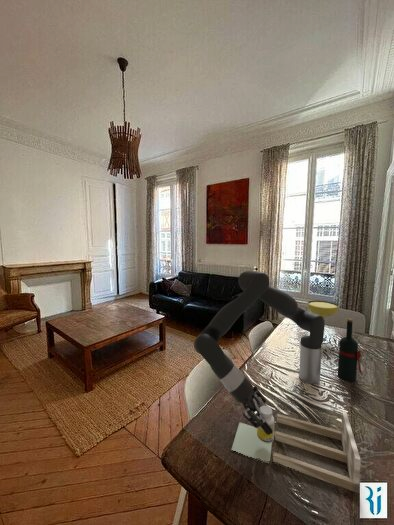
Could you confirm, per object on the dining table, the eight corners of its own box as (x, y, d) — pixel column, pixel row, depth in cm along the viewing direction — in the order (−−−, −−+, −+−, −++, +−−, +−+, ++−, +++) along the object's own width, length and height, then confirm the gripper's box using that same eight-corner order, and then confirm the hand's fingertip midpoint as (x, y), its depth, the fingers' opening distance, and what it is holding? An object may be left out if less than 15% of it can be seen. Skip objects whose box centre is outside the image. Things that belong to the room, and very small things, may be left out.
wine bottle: (358, 387, 104) (362, 324, 101) (334, 376, 112) (337, 318, 109) (364, 380, 108) (368, 320, 105) (341, 371, 116) (344, 315, 114)
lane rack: (277, 419, 86) (277, 395, 85) (344, 438, 77) (346, 412, 76) (273, 462, 69) (273, 432, 68) (358, 493, 61) (360, 459, 60)
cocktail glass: (307, 332, 165) (308, 299, 162) (336, 337, 156) (338, 302, 153) (305, 342, 149) (306, 305, 147) (337, 348, 140) (338, 309, 138)
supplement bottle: (260, 427, 78) (261, 401, 77) (276, 435, 75) (277, 408, 74) (254, 438, 74) (254, 410, 73) (270, 447, 71) (271, 419, 70)
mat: (239, 423, 84) (239, 422, 84) (272, 433, 80) (272, 432, 80) (231, 450, 73) (231, 449, 73) (269, 464, 69) (269, 463, 69)
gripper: (239, 390, 69) (279, 439, 65) (247, 366, 82) (281, 405, 79) (222, 401, 72) (260, 449, 68) (233, 376, 85) (265, 415, 81)
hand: (271, 425), depth 73 cm, fingers closed on supplement bottle, 5 cm apart
